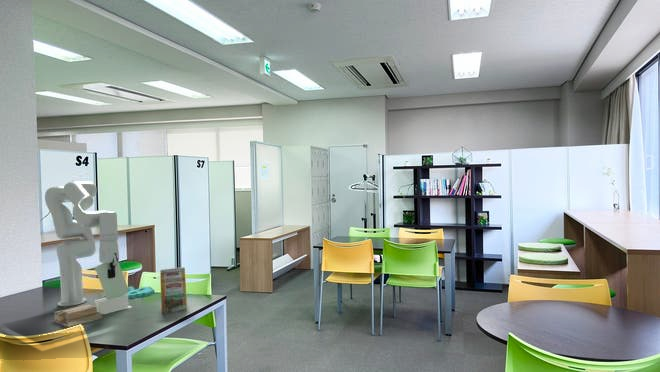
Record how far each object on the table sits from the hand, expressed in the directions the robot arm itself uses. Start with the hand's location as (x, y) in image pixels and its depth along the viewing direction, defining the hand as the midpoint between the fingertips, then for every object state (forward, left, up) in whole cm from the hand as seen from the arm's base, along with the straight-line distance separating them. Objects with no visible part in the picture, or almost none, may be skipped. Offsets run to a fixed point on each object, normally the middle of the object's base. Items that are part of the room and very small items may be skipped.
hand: (110, 277), depth 199 cm
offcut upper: (+6, -17, -12) cm, 21 cm away
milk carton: (+24, +17, -16) cm, 33 cm away
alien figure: (-23, +23, -17) cm, 37 cm away
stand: (+1, 0, -16) cm, 16 cm away
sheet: (0, +3, -10) cm, 10 cm away
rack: (+5, -17, -16) cm, 23 cm away
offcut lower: (+6, -17, -14) cm, 23 cm away
